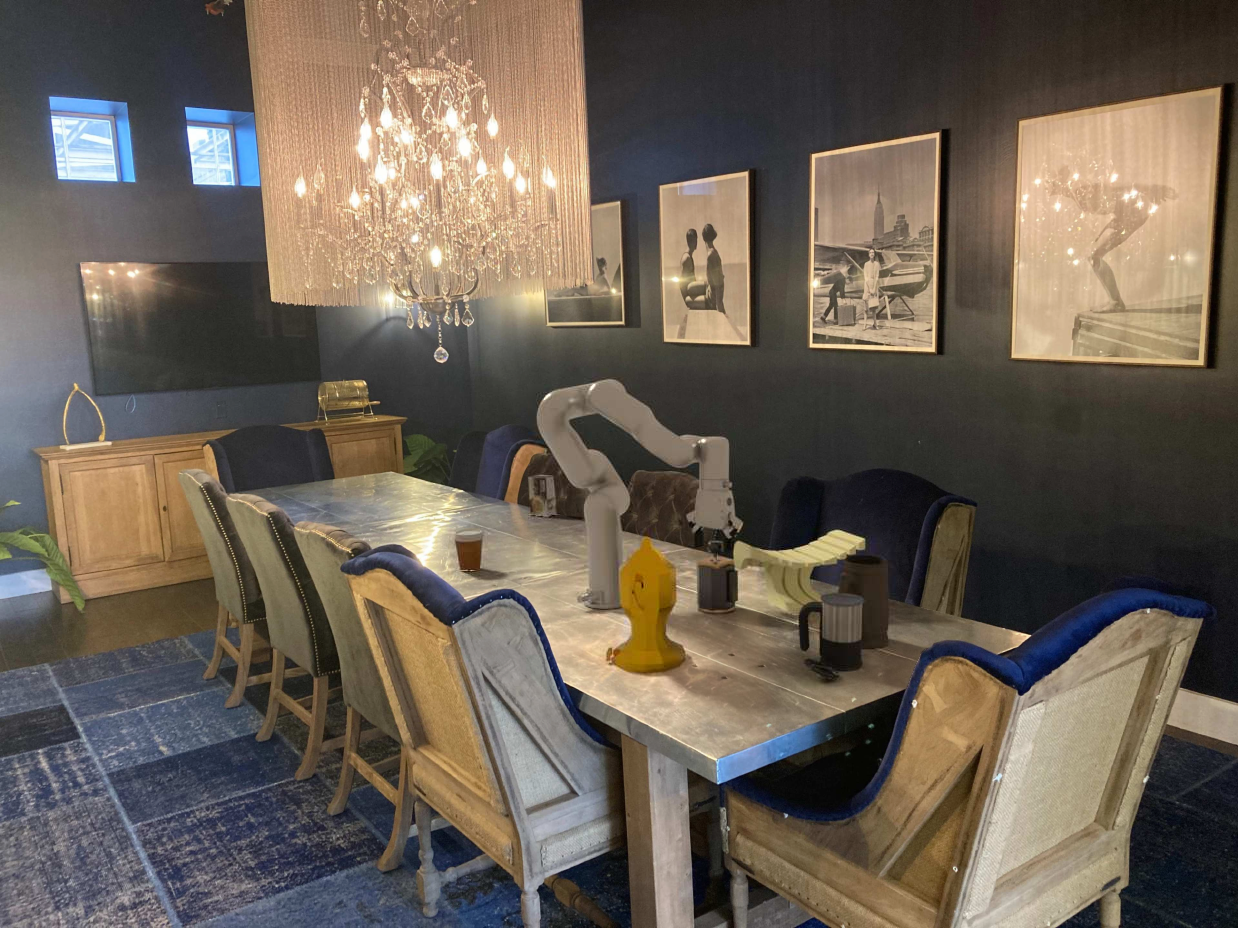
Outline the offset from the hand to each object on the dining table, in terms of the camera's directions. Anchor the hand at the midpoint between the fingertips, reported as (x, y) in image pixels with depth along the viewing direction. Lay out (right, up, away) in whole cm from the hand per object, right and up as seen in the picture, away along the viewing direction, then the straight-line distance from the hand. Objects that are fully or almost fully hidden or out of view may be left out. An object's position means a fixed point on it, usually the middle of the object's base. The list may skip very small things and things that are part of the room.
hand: (713, 549), depth 250 cm
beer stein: (+31, -19, -29) cm, 46 cm away
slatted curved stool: (+23, -15, +4) cm, 28 cm away
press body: (+1, -16, +2) cm, 16 cm away
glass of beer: (-71, -11, +52) cm, 89 cm away
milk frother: (+21, -22, -44) cm, 54 cm away
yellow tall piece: (-19, -22, -35) cm, 45 cm away
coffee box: (-55, +1, +137) cm, 147 cm away
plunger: (+1, -13, +2) cm, 13 cm away
